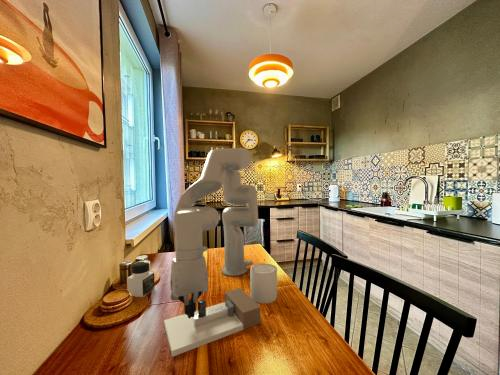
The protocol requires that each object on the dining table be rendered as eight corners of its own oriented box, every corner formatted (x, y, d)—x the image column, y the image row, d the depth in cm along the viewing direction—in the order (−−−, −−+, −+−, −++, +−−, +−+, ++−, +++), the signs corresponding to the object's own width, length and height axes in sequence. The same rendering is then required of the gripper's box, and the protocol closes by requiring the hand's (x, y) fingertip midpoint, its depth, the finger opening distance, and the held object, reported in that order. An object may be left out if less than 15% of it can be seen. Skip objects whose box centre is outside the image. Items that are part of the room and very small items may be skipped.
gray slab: (172, 356, 54) (171, 337, 54) (164, 325, 66) (163, 308, 66) (260, 323, 67) (260, 307, 67) (240, 301, 79) (239, 288, 79)
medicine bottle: (143, 298, 82) (142, 266, 82) (126, 296, 84) (126, 265, 83) (155, 288, 89) (154, 260, 89) (139, 287, 91) (139, 259, 90)
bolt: (194, 326, 63) (194, 306, 62) (192, 322, 65) (192, 302, 65) (232, 314, 68) (232, 295, 68) (229, 310, 71) (229, 292, 70)
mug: (244, 288, 89) (243, 262, 89) (266, 284, 92) (266, 259, 92) (256, 305, 76) (256, 275, 76) (282, 300, 80) (281, 271, 79)
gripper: (209, 245, 70) (210, 302, 70) (160, 253, 62) (161, 316, 63) (218, 252, 63) (219, 314, 63) (163, 261, 56) (164, 331, 56)
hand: (190, 315), depth 63 cm, fingers closed
